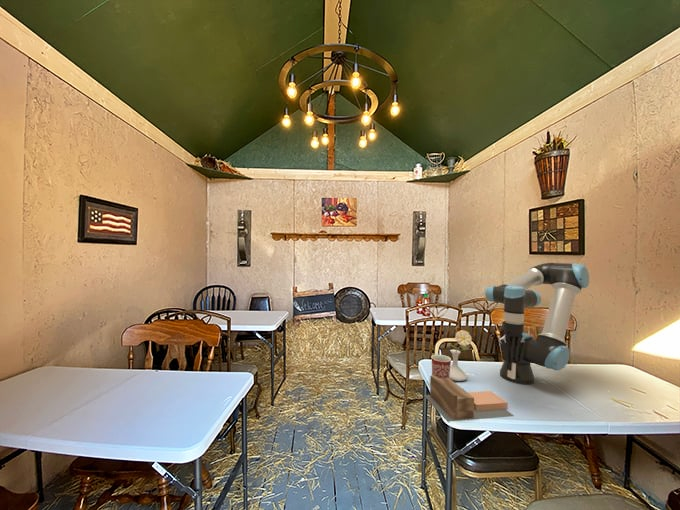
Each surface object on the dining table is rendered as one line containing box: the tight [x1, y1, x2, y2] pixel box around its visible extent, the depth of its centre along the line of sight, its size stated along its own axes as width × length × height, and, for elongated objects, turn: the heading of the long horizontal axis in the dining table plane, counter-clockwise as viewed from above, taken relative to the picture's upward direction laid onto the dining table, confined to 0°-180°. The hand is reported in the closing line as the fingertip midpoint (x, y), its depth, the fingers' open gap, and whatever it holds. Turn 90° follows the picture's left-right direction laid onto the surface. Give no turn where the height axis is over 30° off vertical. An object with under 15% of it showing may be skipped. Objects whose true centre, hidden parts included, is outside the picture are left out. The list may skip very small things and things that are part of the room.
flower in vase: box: [449, 329, 473, 382], centre depth 146 cm, size 13×11×25 cm
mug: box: [430, 354, 452, 378], centre depth 139 cm, size 13×9×14 cm
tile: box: [466, 390, 508, 411], centre depth 121 cm, size 14×10×3 cm
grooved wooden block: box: [429, 374, 474, 419], centre depth 118 cm, size 9×18×9 cm, turn 10°
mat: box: [423, 394, 515, 423], centre depth 120 cm, size 28×20×1 cm
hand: (511, 377), depth 123 cm, fingers closed
